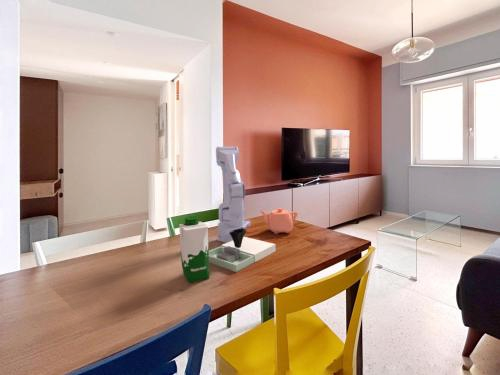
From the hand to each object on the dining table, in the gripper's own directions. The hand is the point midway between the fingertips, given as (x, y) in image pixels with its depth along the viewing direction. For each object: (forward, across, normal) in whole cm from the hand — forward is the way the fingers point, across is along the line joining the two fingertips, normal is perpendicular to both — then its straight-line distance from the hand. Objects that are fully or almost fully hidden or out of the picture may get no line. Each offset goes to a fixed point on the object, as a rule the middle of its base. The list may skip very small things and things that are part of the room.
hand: (237, 247), depth 107 cm
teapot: (+4, +38, +5) cm, 38 cm away
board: (+4, +6, 0) cm, 8 cm away
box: (+4, -6, 0) cm, 7 cm away
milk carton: (+4, -22, 0) cm, 22 cm away
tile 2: (+2, -2, 0) cm, 3 cm away
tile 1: (+1, -7, 0) cm, 7 cm away
